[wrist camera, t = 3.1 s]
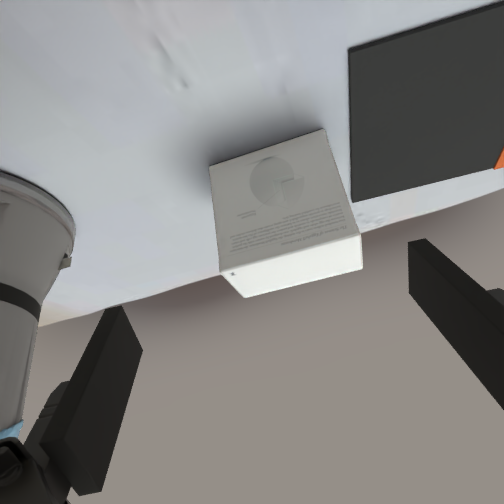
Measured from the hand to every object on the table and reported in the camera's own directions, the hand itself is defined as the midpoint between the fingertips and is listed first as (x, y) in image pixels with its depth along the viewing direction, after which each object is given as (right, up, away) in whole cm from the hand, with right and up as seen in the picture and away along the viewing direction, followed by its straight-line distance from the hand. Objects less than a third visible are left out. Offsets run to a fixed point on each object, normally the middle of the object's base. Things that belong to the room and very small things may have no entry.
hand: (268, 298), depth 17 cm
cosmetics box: (+1, +10, +17) cm, 19 cm away
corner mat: (+18, +14, +13) cm, 27 cm away
